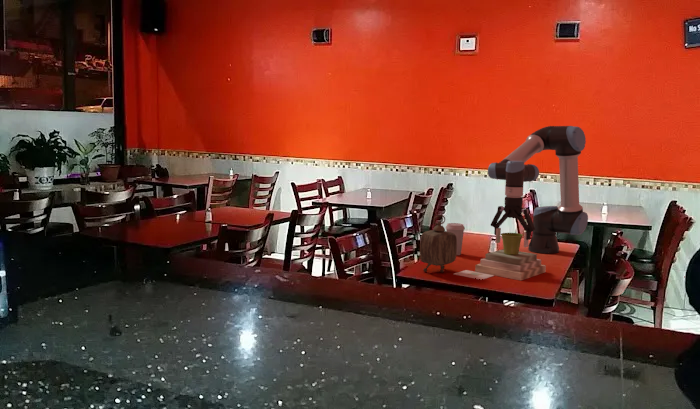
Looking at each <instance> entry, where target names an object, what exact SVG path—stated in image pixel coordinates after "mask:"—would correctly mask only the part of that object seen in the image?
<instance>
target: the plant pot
mask: <svg viewBox="0 0 700 409" xmlns="http://www.w3.org/2000/svg"><path fill="white" fill-rule="evenodd" d="M500 236H501V239H502V246H503V248H502V249H504V253H505V254H508V255H512V254H514V255H517V254H518V253H519V251H520V246H521V241H522V239H523V237H524V234H522V233H517V232H503V233H501V235H500Z"/></svg>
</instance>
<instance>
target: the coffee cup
mask: <svg viewBox="0 0 700 409" xmlns="http://www.w3.org/2000/svg"><path fill="white" fill-rule="evenodd" d="M465 230H466V228H465V226H464V224H463V223H459V222H458V223H457V222H451V223H447V224H446V226H445V231H447V232H452V233H454V234H455V235H456V239H457V252H456V256H461V254H462V249H463V248H462V247H463V240H464V232H465Z"/></svg>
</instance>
